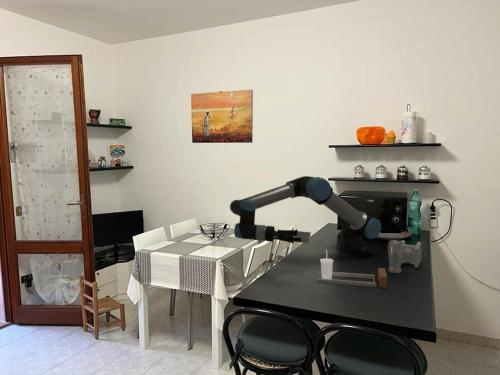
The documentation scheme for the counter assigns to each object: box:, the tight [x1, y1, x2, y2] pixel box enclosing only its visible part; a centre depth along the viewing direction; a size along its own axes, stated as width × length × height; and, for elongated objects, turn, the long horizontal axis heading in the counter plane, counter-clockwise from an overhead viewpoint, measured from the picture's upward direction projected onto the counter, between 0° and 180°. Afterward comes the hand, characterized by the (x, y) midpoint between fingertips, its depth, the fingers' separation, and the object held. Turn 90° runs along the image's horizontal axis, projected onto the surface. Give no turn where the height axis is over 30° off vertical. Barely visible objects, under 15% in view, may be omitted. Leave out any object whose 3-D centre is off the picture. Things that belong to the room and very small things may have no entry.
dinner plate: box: [375, 230, 411, 241], centre depth 251 cm, size 28×27×3 cm
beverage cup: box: [319, 249, 334, 279], centre depth 173 cm, size 6×6×14 cm
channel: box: [316, 267, 388, 289], centre depth 170 cm, size 30×12×5 cm, turn 74°
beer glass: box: [387, 240, 403, 274], centre depth 181 cm, size 7×7×15 cm
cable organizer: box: [400, 239, 422, 269], centre depth 191 cm, size 15×11×12 cm
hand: (309, 237), depth 174 cm, fingers open, 13 cm apart
